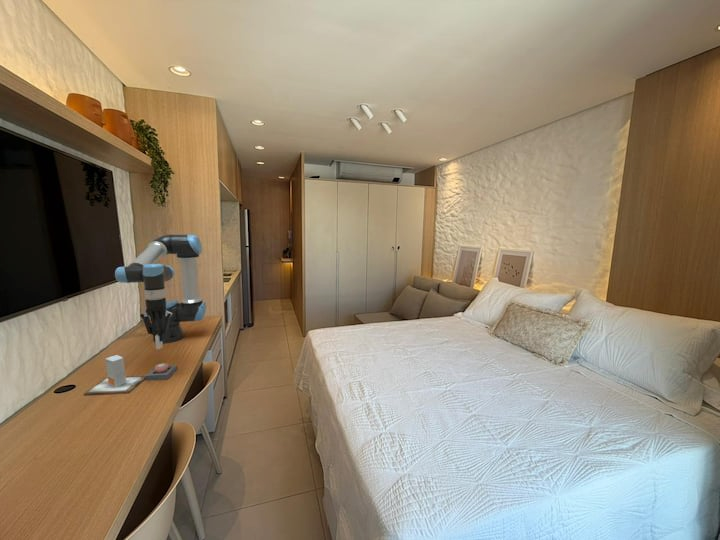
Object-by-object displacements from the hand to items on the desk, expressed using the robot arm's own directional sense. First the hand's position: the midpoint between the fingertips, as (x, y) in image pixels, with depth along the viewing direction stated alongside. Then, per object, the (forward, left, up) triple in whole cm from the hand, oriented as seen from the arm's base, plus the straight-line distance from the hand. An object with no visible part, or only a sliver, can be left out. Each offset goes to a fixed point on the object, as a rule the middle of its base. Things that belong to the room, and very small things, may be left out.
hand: (159, 348), depth 132 cm
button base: (0, 0, -14) cm, 14 cm away
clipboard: (+8, -14, -14) cm, 21 cm away
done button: (0, 0, -12) cm, 12 cm away
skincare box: (+8, -14, -13) cm, 21 cm away
